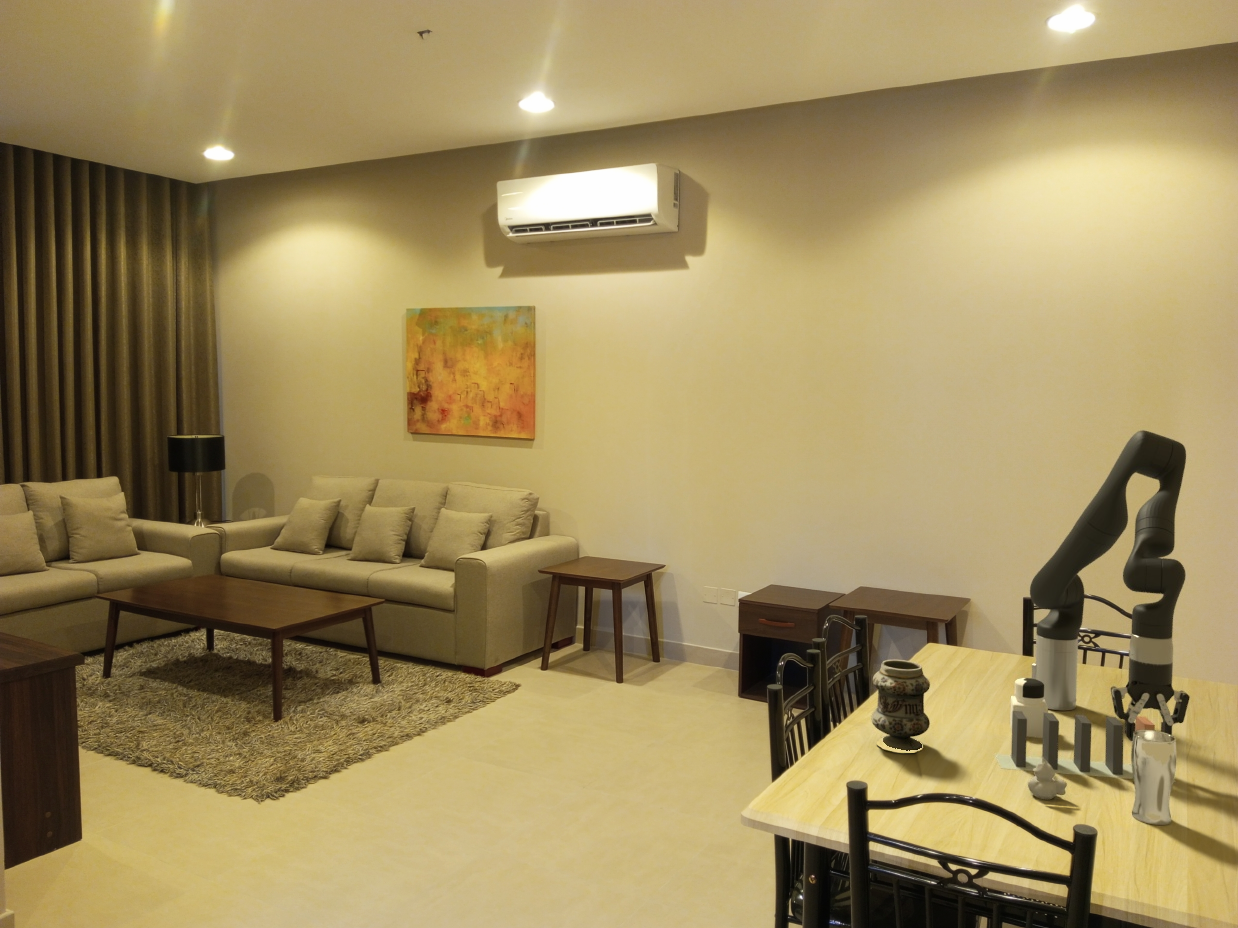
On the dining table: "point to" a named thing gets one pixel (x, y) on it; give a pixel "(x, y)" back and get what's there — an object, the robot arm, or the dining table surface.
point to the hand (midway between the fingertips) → (1147, 740)
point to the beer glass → (1153, 775)
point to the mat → (1065, 767)
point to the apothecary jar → (901, 703)
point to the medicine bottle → (1030, 704)
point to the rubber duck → (1045, 782)
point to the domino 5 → (1144, 723)
